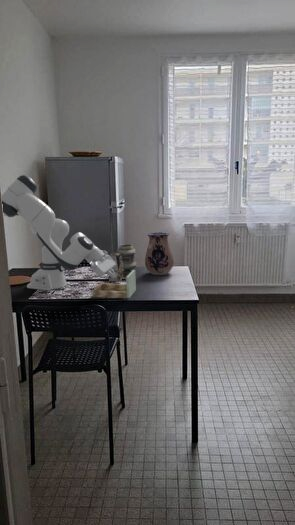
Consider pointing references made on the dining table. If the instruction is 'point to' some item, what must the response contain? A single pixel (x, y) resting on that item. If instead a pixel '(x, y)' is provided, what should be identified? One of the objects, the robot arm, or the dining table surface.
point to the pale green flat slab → (131, 283)
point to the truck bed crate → (110, 290)
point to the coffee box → (117, 266)
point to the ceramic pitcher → (158, 254)
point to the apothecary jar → (127, 257)
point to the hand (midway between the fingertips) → (115, 277)
